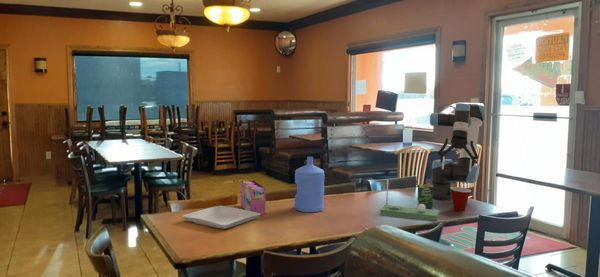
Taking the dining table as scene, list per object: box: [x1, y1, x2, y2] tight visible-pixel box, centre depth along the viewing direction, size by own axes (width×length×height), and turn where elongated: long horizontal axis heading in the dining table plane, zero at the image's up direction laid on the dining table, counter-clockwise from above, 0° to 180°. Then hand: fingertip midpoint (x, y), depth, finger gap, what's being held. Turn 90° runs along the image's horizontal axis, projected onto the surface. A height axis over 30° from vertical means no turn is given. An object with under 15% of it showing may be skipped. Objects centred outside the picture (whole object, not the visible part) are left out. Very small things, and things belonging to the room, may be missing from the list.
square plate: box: [181, 205, 261, 230], centre depth 225 cm, size 27×27×4 cm
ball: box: [417, 204, 427, 212], centre depth 239 cm, size 4×4×4 cm
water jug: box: [293, 156, 325, 213], centre depth 250 cm, size 16×16×28 cm
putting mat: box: [379, 204, 440, 222], centre depth 243 cm, size 12×28×2 cm, turn 68°
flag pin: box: [385, 179, 389, 206], centre depth 250 cm, size 4×1×14 cm, turn 158°
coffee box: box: [416, 183, 434, 209], centre depth 258 cm, size 8×3×13 cm, turn 92°
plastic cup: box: [450, 186, 472, 213], centre depth 254 cm, size 11×11×12 cm
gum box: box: [240, 180, 267, 216], centre depth 248 cm, size 24×8×14 cm, turn 20°
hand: (456, 170), depth 246 cm, fingers open, 13 cm apart
